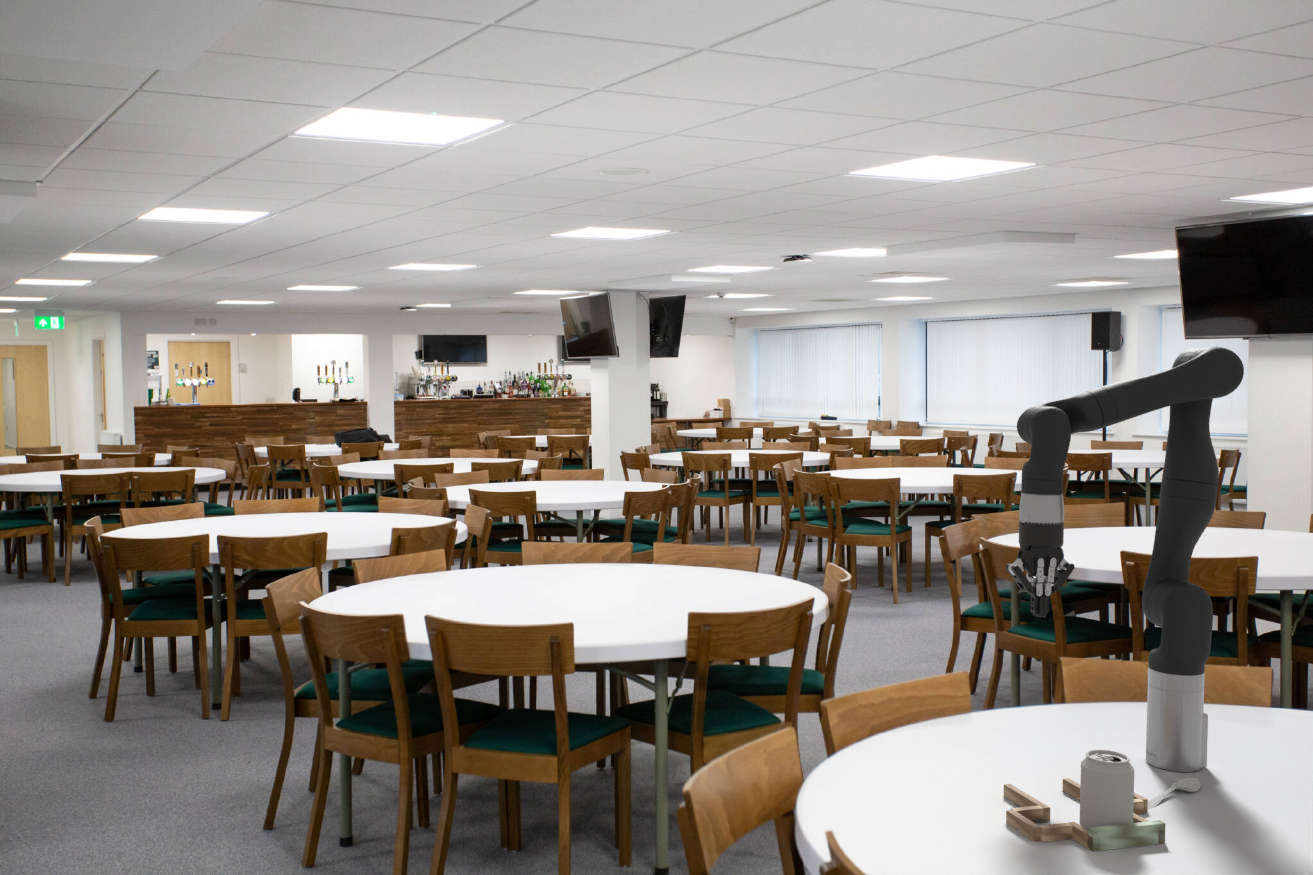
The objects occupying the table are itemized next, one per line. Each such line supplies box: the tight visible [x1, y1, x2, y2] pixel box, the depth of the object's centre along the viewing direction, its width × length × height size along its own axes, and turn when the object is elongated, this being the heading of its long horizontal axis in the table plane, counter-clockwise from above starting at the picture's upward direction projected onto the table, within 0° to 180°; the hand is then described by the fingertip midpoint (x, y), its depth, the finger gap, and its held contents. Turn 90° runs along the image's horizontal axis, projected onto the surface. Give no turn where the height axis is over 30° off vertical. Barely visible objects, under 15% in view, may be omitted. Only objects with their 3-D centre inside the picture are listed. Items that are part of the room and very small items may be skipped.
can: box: [1079, 749, 1135, 830], centre depth 169 cm, size 8×8×12 cm
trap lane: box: [1003, 777, 1166, 852], centre depth 175 cm, size 25×23×3 cm
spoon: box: [1148, 777, 1201, 810], centre depth 185 cm, size 4×21×2 cm, turn 129°
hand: (1039, 616), depth 199 cm, fingers closed
